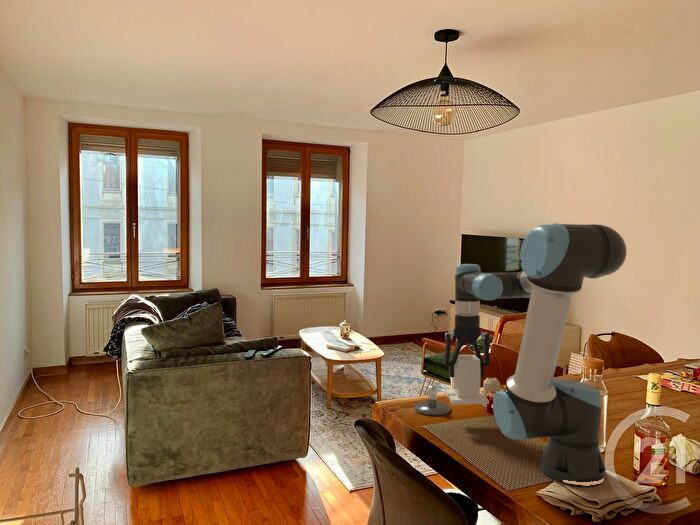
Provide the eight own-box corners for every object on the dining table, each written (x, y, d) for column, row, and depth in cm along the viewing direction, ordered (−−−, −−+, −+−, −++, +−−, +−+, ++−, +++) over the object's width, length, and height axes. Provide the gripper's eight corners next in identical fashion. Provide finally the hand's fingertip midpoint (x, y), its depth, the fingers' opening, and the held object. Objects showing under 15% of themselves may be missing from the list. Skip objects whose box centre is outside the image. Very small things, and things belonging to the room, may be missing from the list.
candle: (497, 403, 185) (498, 375, 184) (500, 409, 179) (501, 380, 178) (481, 403, 185) (482, 375, 184) (484, 408, 180) (484, 380, 179)
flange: (479, 393, 170) (479, 353, 170) (488, 404, 159) (489, 361, 159) (445, 393, 170) (445, 353, 169) (452, 404, 159) (452, 361, 158)
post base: (453, 415, 173) (454, 392, 172) (416, 416, 173) (417, 392, 172) (446, 403, 185) (446, 380, 184) (411, 403, 185) (412, 380, 184)
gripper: (495, 312, 167) (494, 383, 168) (433, 312, 167) (432, 384, 168) (502, 315, 160) (501, 390, 161) (438, 315, 159) (437, 391, 160)
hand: (466, 387), depth 164 cm, fingers closed on flange, 7 cm apart
